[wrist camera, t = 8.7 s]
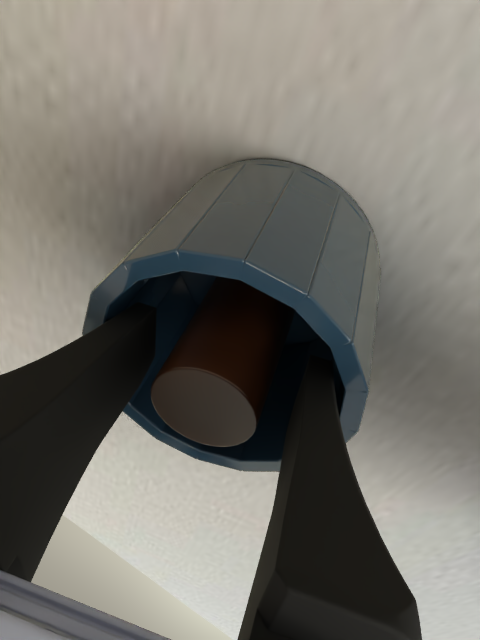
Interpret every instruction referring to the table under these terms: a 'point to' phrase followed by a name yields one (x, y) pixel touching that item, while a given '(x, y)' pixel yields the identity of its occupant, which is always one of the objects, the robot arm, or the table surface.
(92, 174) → the table surface
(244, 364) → the walnut peg
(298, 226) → the pen cup
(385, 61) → the table surface
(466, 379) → the table surface
